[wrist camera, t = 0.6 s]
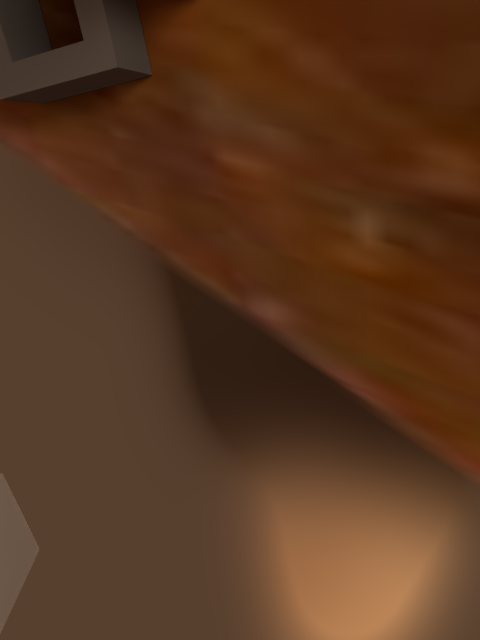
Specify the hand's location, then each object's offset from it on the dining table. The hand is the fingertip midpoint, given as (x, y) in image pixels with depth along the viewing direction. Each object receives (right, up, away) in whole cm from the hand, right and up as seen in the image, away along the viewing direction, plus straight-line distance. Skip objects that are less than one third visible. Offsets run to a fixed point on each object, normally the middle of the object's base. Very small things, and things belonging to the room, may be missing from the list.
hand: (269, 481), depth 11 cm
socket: (-13, +27, +23) cm, 38 cm away
